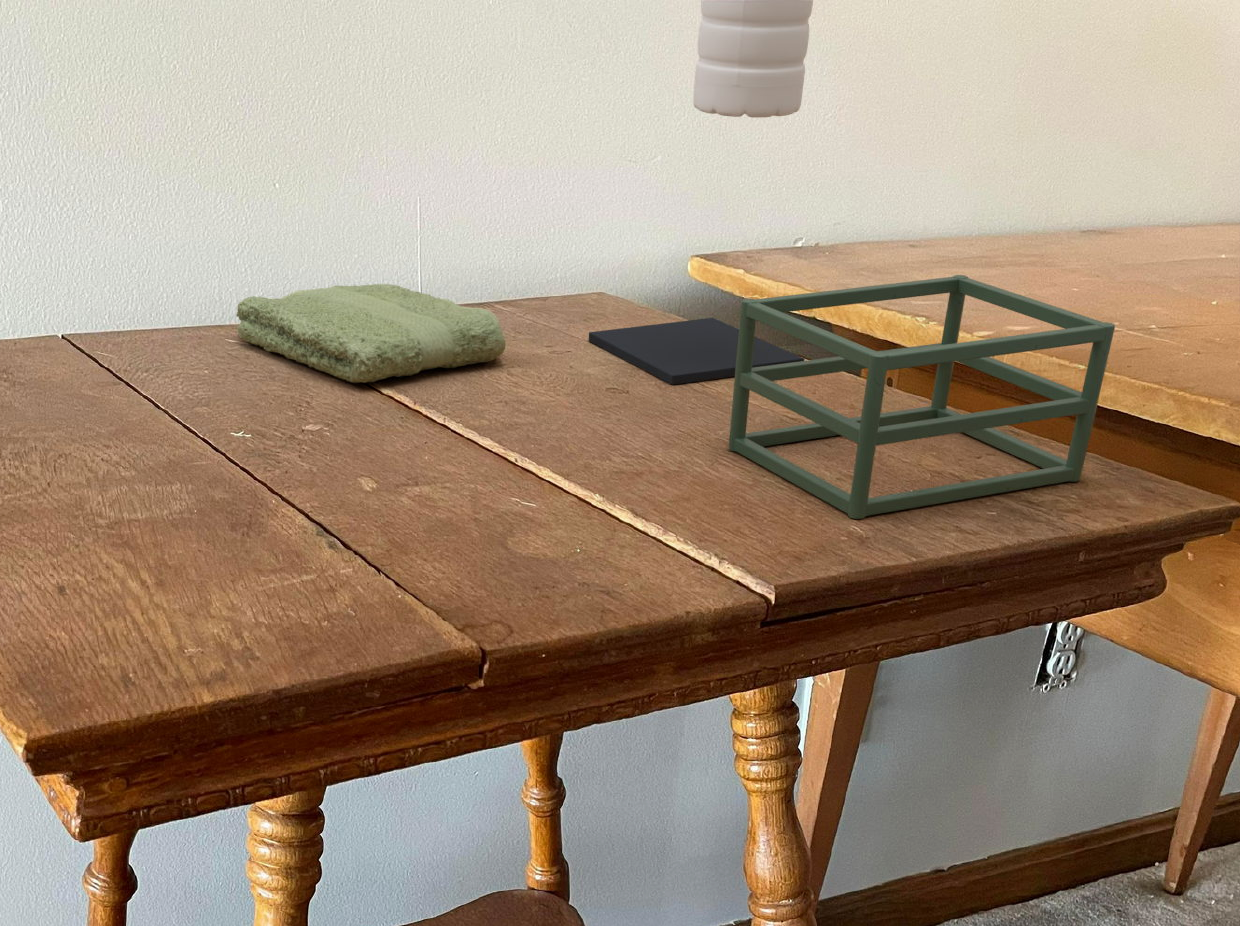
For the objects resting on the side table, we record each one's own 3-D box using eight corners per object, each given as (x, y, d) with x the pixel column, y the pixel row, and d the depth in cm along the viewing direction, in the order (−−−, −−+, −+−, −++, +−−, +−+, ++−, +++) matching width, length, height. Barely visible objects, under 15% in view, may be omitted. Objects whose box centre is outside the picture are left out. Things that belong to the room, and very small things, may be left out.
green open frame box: (1083, 480, 83) (1119, 325, 79) (854, 520, 79) (877, 357, 74) (938, 416, 93) (962, 273, 88) (725, 448, 88) (738, 299, 83)
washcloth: (382, 311, 114) (380, 264, 112) (518, 364, 102) (519, 312, 101) (223, 337, 108) (218, 288, 106) (349, 396, 97) (345, 342, 95)
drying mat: (803, 367, 102) (804, 358, 101) (671, 385, 98) (672, 375, 98) (712, 326, 110) (712, 317, 110) (588, 341, 107) (588, 331, 107)
